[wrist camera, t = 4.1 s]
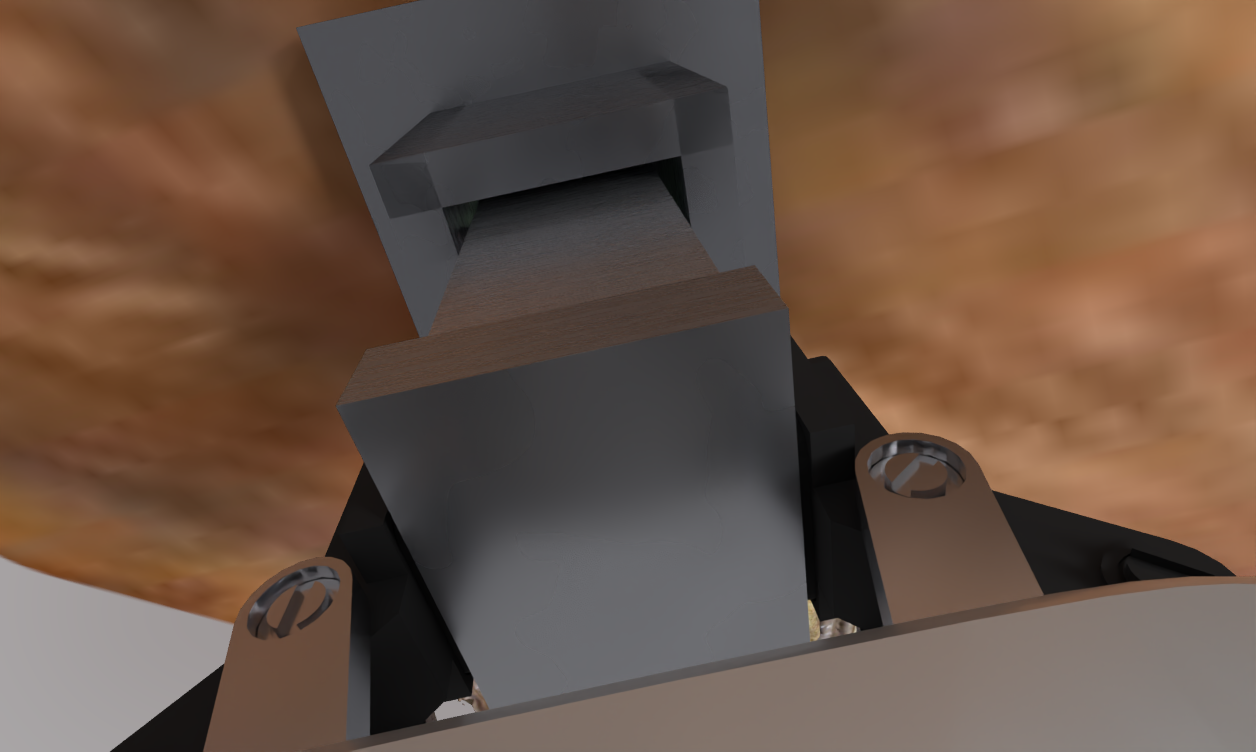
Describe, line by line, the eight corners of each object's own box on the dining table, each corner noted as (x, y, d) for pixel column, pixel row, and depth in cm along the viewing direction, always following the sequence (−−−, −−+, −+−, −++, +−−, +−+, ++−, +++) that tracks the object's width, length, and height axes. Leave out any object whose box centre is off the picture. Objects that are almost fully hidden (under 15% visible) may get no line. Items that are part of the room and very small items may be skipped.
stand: (317, 25, 21) (114, 41, 11) (736, -67, 21) (896, -131, 11) (454, 384, 28) (403, 583, 18) (768, 316, 28) (883, 480, 18)
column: (473, 129, 21) (285, 417, 6) (624, 95, 21) (798, 305, 6) (525, 304, 24) (481, 767, 9) (656, 275, 24) (820, 695, 9)
